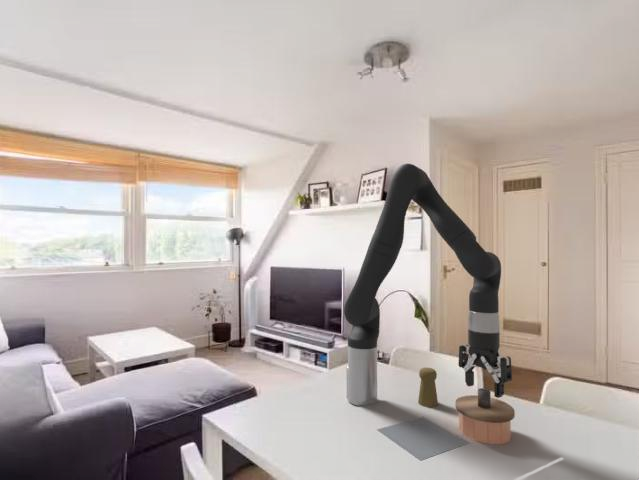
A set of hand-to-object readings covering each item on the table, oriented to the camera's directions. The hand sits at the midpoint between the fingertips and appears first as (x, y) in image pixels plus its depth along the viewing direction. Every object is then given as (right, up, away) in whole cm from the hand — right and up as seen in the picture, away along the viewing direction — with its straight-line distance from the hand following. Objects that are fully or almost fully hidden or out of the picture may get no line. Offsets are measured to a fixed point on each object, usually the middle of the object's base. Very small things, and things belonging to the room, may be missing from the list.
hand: (483, 391), depth 96 cm
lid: (0, -5, 0) cm, 5 cm away
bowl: (0, -11, 0) cm, 11 cm away
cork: (-9, -12, +17) cm, 23 cm away
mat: (-17, -11, -3) cm, 20 cm away
